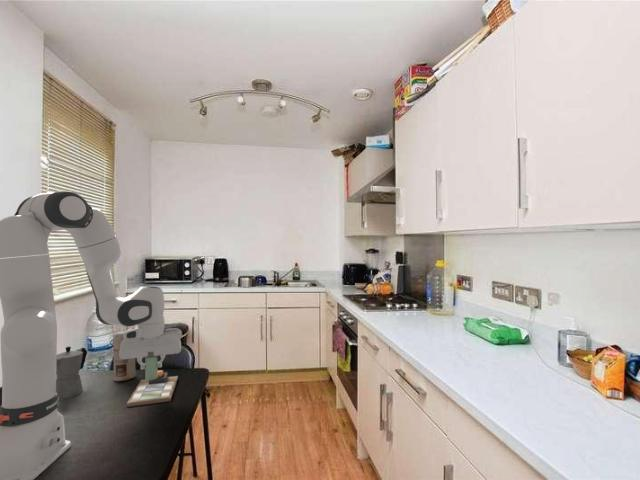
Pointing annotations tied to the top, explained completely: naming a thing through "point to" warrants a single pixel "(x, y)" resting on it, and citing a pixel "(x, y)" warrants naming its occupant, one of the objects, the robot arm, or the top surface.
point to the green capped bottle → (151, 366)
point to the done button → (160, 373)
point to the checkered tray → (153, 391)
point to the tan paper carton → (122, 361)
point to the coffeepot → (69, 372)
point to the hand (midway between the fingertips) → (151, 368)
